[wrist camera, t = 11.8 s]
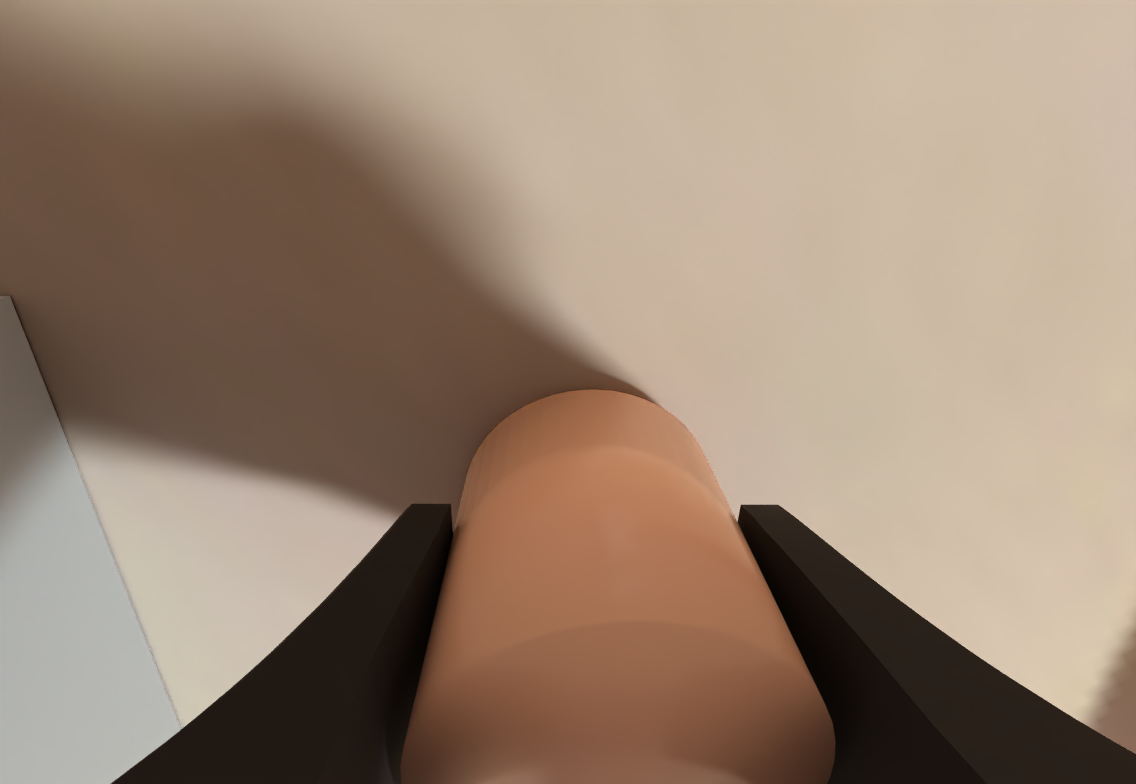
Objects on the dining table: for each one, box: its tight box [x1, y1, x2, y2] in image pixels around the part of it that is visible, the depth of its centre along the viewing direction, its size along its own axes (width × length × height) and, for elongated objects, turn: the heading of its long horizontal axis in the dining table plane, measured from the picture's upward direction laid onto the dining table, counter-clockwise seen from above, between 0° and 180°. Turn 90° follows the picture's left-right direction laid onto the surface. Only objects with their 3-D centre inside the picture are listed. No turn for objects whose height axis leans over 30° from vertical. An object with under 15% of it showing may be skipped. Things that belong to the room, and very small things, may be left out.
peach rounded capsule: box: [401, 389, 836, 784], centre depth 8 cm, size 5×5×5 cm
